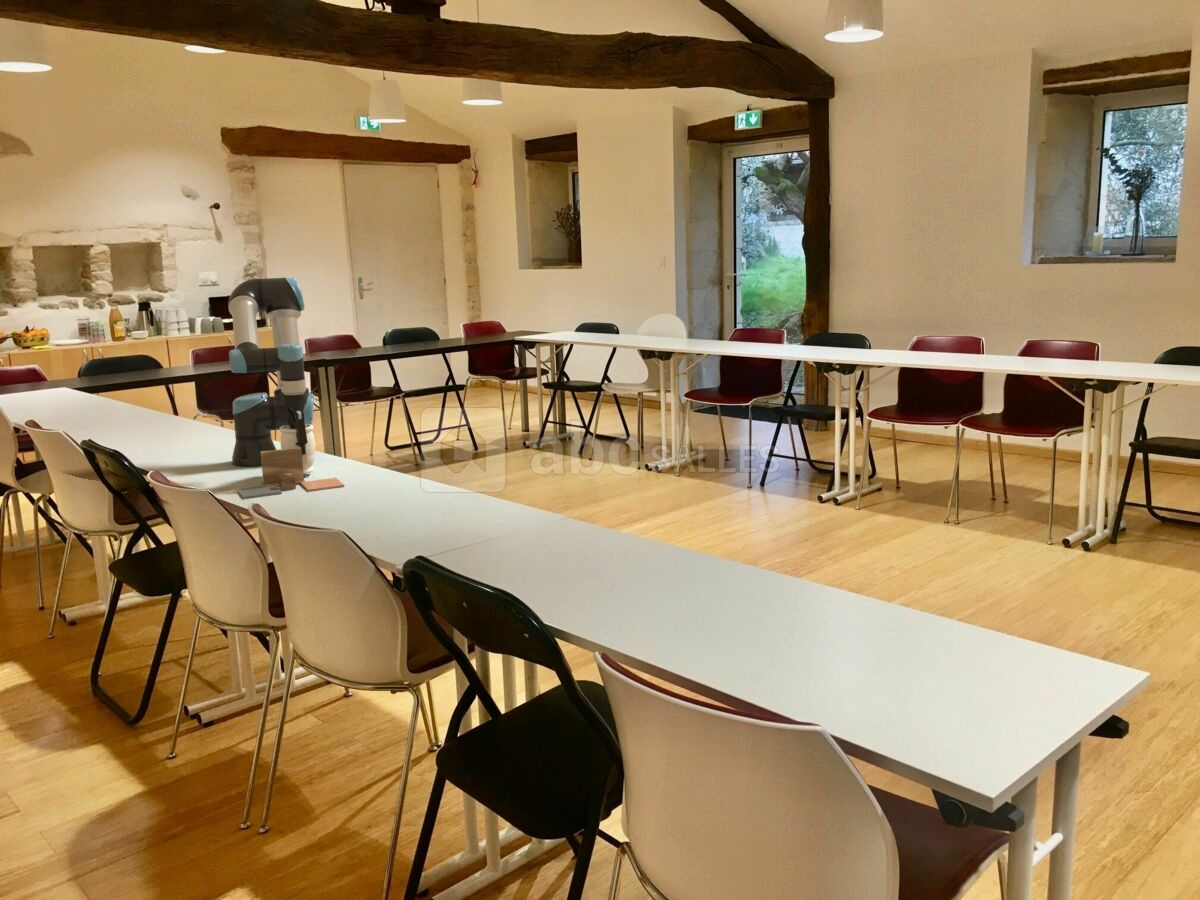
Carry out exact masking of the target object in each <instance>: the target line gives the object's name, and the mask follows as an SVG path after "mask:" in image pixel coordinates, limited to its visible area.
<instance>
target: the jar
mask: <svg viewBox="0 0 1200 900" xmlns="http://www.w3.org/2000/svg"><path fill="white" fill-rule="evenodd" d="M305 428H306V435H307V441H308V443H306V449H307V461H308V464H303V474H304V475H306V474H311V473H313V472H314V470H315V469H314V467H313V464H314V461H315V453H316V441H315V435H314V433H313V430H314V425H313V424H312V425H311V424H305ZM278 431H280V433H281V435H280V449H289V448H297V445H296V443H297V437H296V431H297V430H296V429H290V425H285V426H282V427H280V429H279V430H278ZM301 440H303V439H301Z"/></svg>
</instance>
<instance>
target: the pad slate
mask: <svg viewBox="0 0 1200 900" xmlns="http://www.w3.org/2000/svg"><path fill="white" fill-rule="evenodd" d="M236 491H237V492H238V493H239V496H241V498H242V499H243V500H244V499H245V500H246V499H252V498H253V499H254V498H261V497H262V498H263V497H269V496H277V495H282V494H283V493H282V490H281V489H280V488H279V487H277V486H276V485H275V486H267V487H265V486H263V485H259V486H253V487H252V486H251V487H244V488H242V487H241V488H237V489H236Z"/></svg>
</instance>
